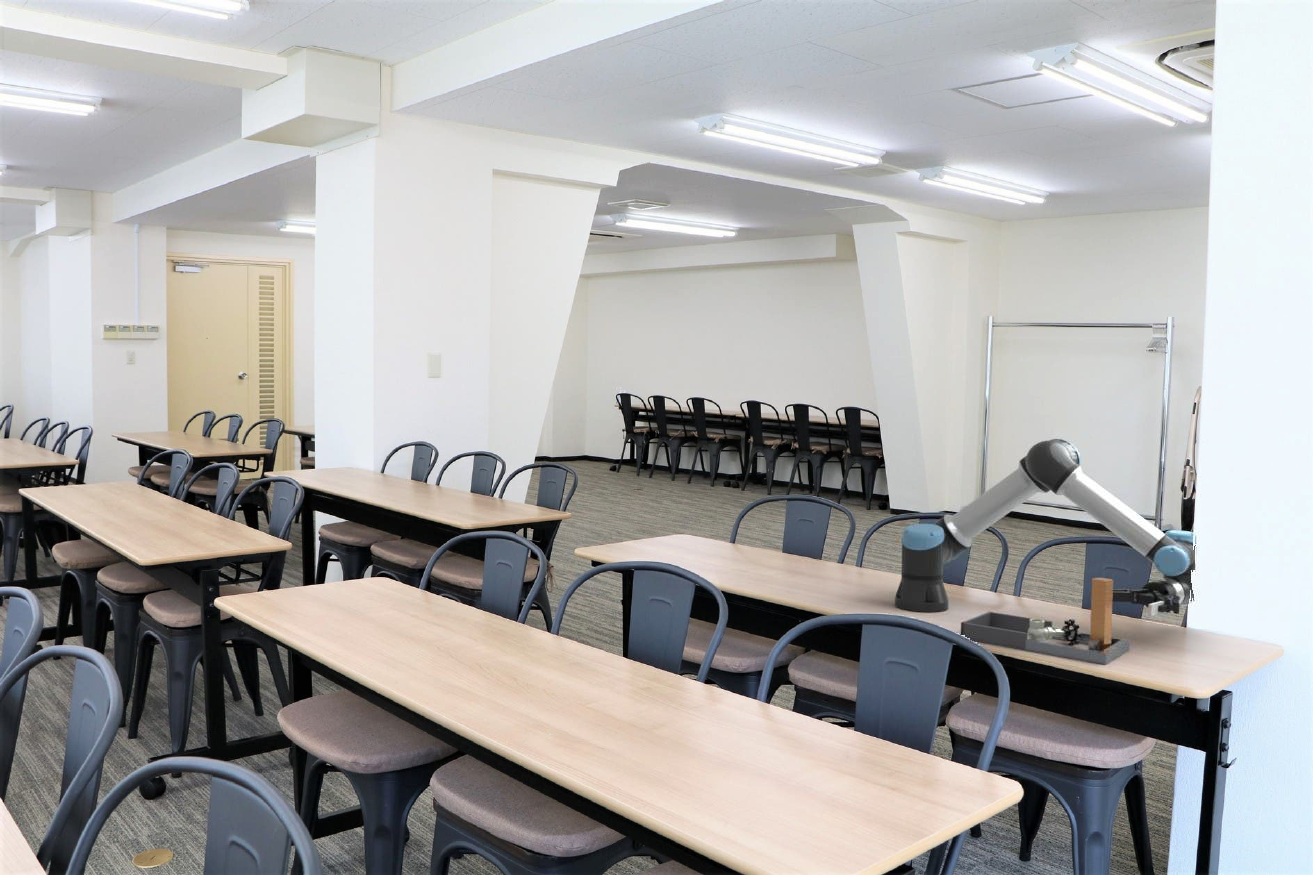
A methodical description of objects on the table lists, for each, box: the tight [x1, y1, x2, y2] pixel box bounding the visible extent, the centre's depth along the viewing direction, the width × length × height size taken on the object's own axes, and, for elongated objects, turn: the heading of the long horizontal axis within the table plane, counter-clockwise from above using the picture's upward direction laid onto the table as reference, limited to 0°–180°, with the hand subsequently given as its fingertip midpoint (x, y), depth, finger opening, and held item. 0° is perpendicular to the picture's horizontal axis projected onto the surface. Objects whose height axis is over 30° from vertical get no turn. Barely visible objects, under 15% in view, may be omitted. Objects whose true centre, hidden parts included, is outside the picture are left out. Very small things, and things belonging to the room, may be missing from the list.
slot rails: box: [1024, 626, 1131, 666], centre depth 239 cm, size 18×18×2 cm
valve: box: [1027, 618, 1081, 647], centre depth 243 cm, size 7×7×12 cm
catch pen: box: [960, 611, 1053, 651], centre depth 251 cm, size 18×16×4 cm
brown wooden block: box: [1088, 577, 1114, 651], centre depth 236 cm, size 13×4×18 cm, turn 139°
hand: (1121, 605), depth 241 cm, fingers open, 13 cm apart
